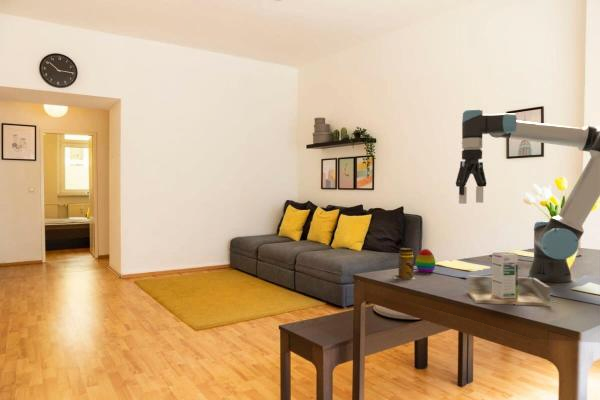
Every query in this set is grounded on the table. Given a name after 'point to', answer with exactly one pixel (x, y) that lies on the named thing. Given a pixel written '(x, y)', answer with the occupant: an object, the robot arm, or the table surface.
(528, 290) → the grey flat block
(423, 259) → the decorative egg
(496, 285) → the syrup box
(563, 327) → the table surface
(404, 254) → the condiment
